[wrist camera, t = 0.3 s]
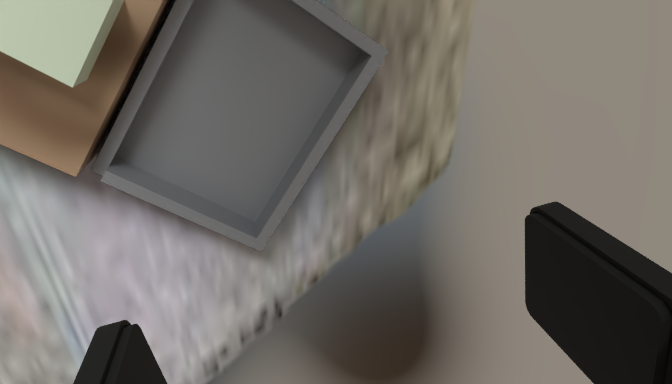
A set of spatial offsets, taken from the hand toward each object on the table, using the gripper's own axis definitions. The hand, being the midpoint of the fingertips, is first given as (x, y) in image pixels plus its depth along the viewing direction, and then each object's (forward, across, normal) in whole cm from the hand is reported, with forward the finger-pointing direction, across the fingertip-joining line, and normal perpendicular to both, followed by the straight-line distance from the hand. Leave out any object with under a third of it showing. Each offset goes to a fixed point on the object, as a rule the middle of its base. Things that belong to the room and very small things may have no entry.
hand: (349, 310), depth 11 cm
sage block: (+26, +12, -8) cm, 29 cm away
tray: (+31, +3, +1) cm, 31 cm away
